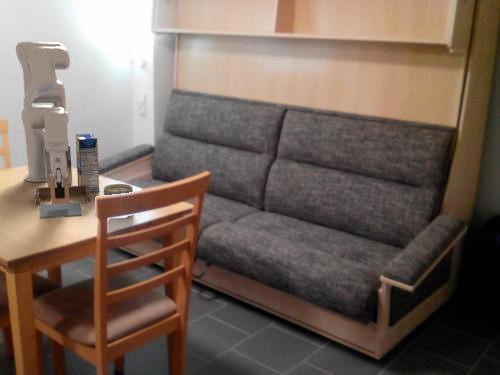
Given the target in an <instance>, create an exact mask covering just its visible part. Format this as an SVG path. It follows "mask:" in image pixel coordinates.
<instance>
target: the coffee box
mask: <svg viewBox="0 0 500 375" xmlns="http://www.w3.org/2000/svg"><path fill="white" fill-rule="evenodd" d="M68 148H69V150H68V151H66V160H67V173H68V186H70V185H71V184H72V183H73V172H72V171H73V170H72V169H73V168H72V152H71V146H69V145H68ZM45 155H46V169H47V181H46V182H47V187H50V174H52V171H51V162H50V152H47V151H46V150H45Z"/></svg>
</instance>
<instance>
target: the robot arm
mask: <svg viewBox="0 0 500 375" xmlns="http://www.w3.org/2000/svg"><path fill="white" fill-rule="evenodd" d="M15 53H16V57H17V60H18V62H19V63H20V65H21V69H22V73H23V74H22V76H23V77H22V78H23V90H24V91H23V93H24V98H23V109H22V111H21V119H22V125H23V129H24V130H23V131H24V134H25V136H24V137H25V147H26V161H27V162H26V163H27V171H28V172H27V175H24V180H25V181H27V182H30V183H44V182H45V183H46V182H47V169H46V155H45V150H46V151H47V152H50V162H51V171H52V177H53V179H54V180H55V198H56V199H60V198H65V190H64V186H63V178H65V179H67V160H66V151H68V150H69V148H68V146H69V136H68V135H69V133H68V132H69V131H68V123H69V114H68V111H67V110H66V108H67V106H66V104H67V101H66V99H67V98H66V89H65V85H64V84H63V83H62V82H61V81H60V80H58V77H57V74H56V71H58V70H59V71H60V70H63V71H66V70H68V69H69V67H70V66H71V65H70V64H71V61H70V60H71V59H70V55H69V51H68V50H67V48H66V46H64V45H63V44H62V43H60V42H56V41H55V42H54V41H20V42H18V43H17V44H16V45H15ZM33 104H37V105H33ZM43 104H47V105H43ZM49 104H50V105H49ZM52 104H53V105H52ZM54 176H55V177H54ZM56 177H57V179H56ZM61 177H62V179H61Z"/></svg>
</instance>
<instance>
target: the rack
mask: <svg viewBox="0 0 500 375" xmlns="http://www.w3.org/2000/svg"><path fill="white" fill-rule="evenodd" d="M68 188H69V198H70V197H71V198H72V197H86V199H85V200H86V203H91V193H90V190H89V185H83V186H78V185H68ZM34 197H35V205H36V206H40V205H41V204H40V203H41V202H40V201H41V199H51V189H50V187H48V186H47V187H46V186H45V187H35V193H34Z"/></svg>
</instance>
